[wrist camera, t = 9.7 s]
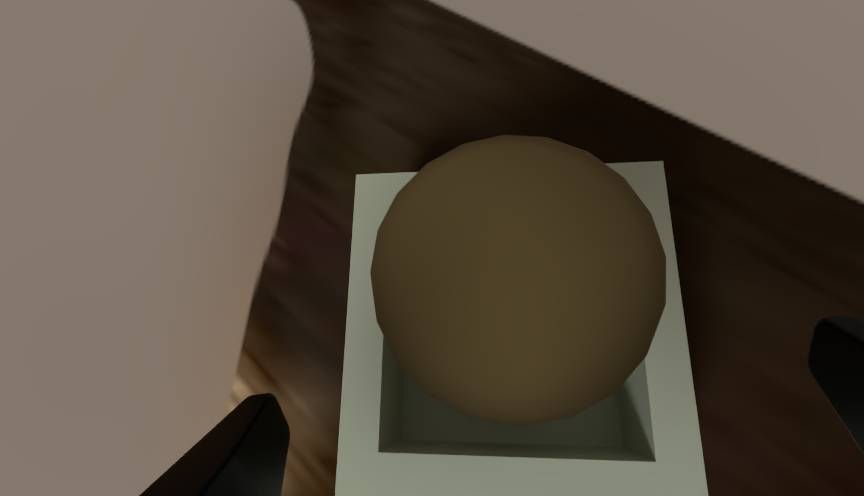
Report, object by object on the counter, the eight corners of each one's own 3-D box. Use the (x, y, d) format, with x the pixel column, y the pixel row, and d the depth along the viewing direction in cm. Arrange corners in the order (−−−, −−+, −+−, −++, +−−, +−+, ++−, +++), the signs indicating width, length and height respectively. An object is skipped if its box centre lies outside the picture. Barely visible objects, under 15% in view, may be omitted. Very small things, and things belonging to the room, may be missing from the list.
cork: (481, 226, 19) (460, 23, 8) (621, 310, 17) (809, 188, 7) (393, 354, 18) (245, 303, 7) (531, 456, 16) (591, 574, 6)
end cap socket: (655, 482, 16) (710, 514, 12) (374, 471, 18) (334, 496, 14) (626, 211, 19) (662, 160, 15) (385, 219, 21) (356, 174, 16)
